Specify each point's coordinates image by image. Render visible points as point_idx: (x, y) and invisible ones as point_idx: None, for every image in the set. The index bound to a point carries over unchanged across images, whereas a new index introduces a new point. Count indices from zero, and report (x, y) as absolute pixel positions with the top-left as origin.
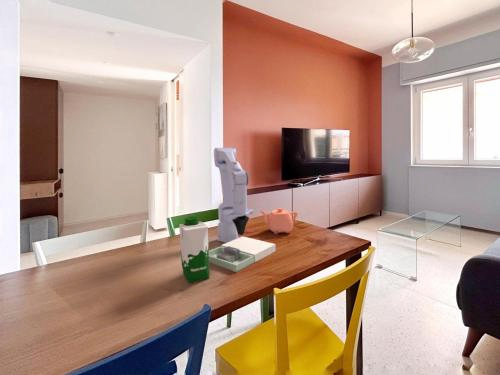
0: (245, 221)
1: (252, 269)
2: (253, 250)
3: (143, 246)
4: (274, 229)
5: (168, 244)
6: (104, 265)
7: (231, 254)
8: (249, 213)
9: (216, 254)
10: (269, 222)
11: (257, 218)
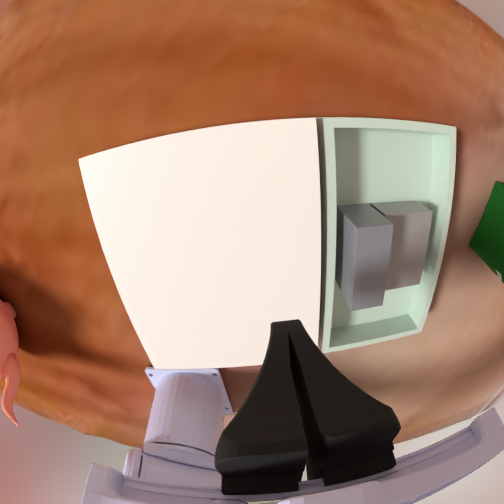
0: (289, 413)
1: (375, 76)
2: (263, 177)
3: None
4: (5, 318)
5: None
6: (474, 390)
7: None
8: (144, 486)
9: (352, 321)
10: (5, 359)
11: (32, 408)
